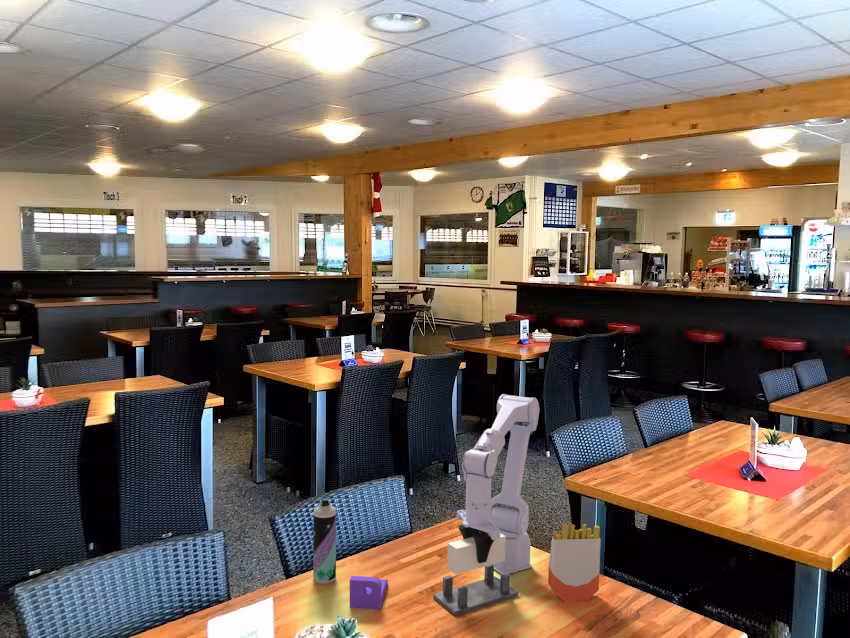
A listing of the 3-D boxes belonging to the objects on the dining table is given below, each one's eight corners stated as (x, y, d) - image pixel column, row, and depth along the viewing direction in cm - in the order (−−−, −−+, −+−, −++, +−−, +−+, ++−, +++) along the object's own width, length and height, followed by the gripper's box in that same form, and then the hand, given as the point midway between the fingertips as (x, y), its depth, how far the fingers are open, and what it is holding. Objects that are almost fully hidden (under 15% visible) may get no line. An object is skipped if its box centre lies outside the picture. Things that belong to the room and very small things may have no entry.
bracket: (379, 611, 150) (380, 581, 149) (349, 609, 151) (349, 580, 150) (387, 585, 162) (387, 558, 161) (359, 584, 163) (359, 556, 162)
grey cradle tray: (495, 580, 165) (495, 560, 164) (518, 595, 157) (519, 575, 157) (433, 598, 155) (433, 577, 155) (454, 616, 148) (455, 594, 147)
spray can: (309, 581, 163) (309, 501, 161) (320, 571, 168) (320, 494, 166) (328, 585, 161) (328, 504, 159) (339, 575, 166) (340, 497, 164)
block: (496, 555, 161) (496, 531, 160) (505, 560, 158) (505, 536, 157) (447, 568, 153) (447, 543, 153) (455, 574, 150) (456, 548, 150)
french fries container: (547, 592, 159) (549, 518, 158) (591, 590, 160) (594, 517, 159) (552, 601, 155) (555, 526, 153) (598, 600, 156) (601, 525, 154)
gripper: (446, 494, 158) (445, 550, 160) (482, 515, 146) (481, 575, 147) (470, 490, 162) (469, 544, 163) (508, 509, 150) (506, 567, 151)
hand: (476, 558), depth 156 cm, fingers closed on block, 3 cm apart
